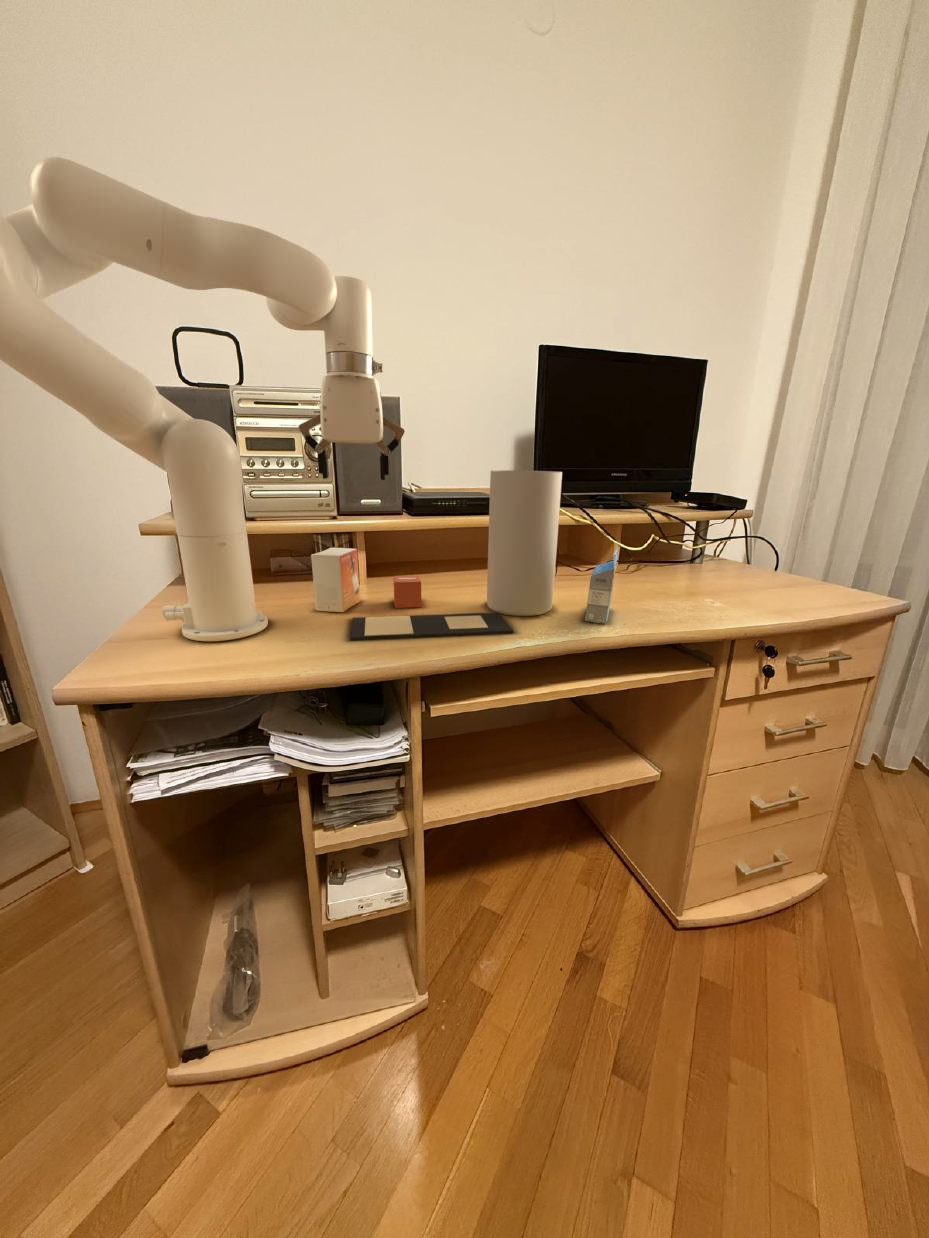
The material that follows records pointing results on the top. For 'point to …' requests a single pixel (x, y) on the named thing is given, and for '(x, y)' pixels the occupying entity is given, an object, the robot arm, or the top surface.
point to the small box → (335, 579)
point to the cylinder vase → (522, 541)
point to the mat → (428, 626)
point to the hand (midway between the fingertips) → (354, 479)
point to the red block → (407, 591)
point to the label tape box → (601, 591)
